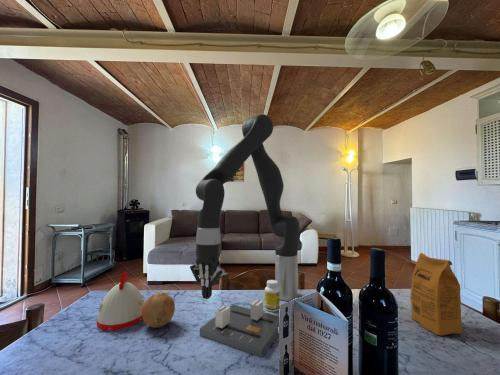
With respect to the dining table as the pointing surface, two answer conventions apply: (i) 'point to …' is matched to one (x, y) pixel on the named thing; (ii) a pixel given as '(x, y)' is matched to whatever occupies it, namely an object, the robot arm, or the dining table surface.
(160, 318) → the onion
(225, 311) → the fader
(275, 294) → the supplement bottle
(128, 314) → the kitchen timer
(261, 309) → the fader
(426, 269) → the coffee package
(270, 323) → the console
